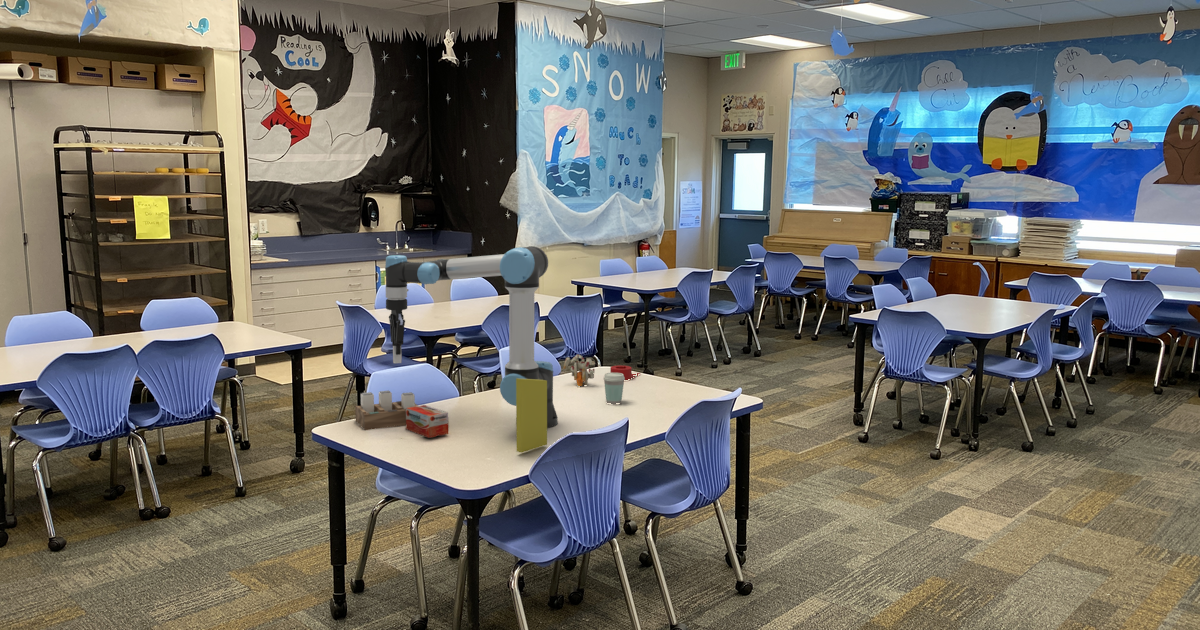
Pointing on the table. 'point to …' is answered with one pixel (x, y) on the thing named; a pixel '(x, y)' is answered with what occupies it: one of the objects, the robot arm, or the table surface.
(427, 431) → the medicine box
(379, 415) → the wooden slotted rack
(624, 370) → the red barrier tape roll
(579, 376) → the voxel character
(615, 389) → the coffee cup
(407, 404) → the tab
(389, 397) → the tab
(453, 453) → the table surface
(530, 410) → the flat olive board
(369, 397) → the tab
